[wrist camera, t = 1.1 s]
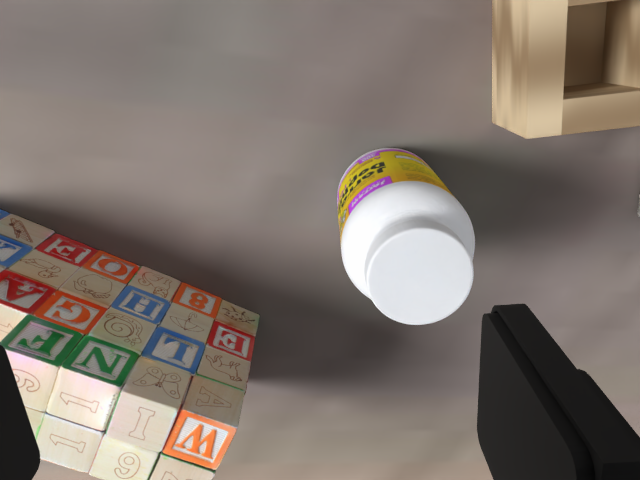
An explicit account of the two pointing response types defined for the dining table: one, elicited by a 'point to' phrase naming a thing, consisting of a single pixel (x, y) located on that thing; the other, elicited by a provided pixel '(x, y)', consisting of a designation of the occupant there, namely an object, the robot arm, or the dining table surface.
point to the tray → (639, 207)
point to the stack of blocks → (119, 359)
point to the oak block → (565, 66)
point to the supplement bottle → (404, 237)
